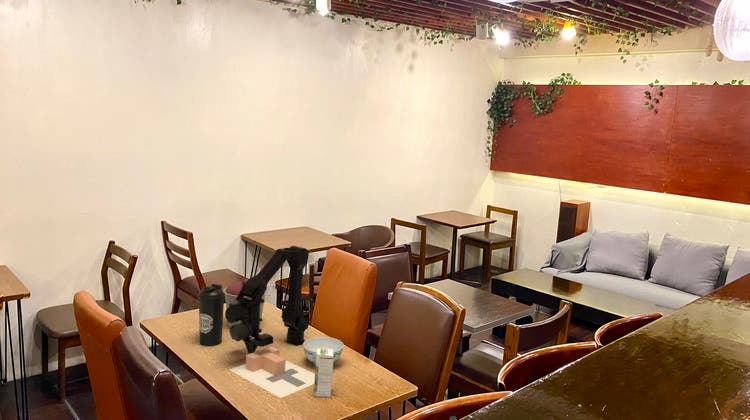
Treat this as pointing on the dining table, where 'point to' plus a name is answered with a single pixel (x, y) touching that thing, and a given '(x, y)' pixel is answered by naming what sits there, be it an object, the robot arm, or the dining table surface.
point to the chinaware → (322, 347)
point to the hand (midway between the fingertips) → (250, 356)
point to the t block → (266, 361)
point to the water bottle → (211, 315)
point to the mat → (278, 379)
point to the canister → (233, 292)
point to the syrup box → (323, 373)
